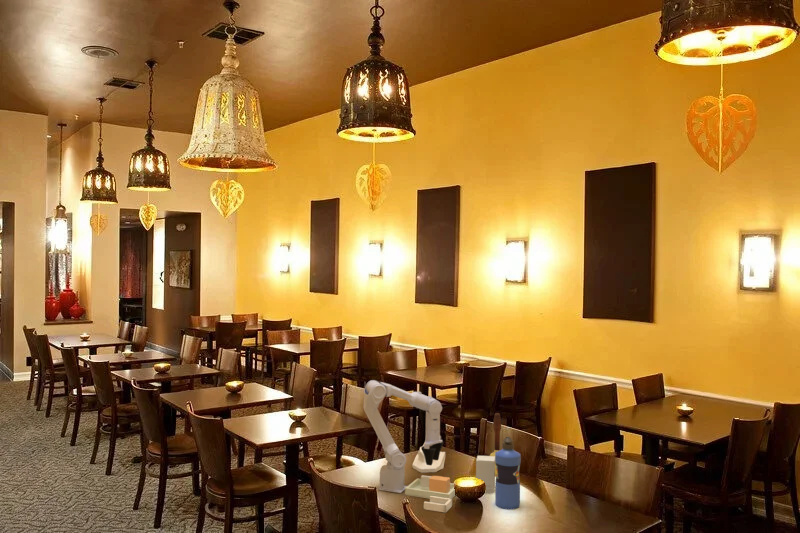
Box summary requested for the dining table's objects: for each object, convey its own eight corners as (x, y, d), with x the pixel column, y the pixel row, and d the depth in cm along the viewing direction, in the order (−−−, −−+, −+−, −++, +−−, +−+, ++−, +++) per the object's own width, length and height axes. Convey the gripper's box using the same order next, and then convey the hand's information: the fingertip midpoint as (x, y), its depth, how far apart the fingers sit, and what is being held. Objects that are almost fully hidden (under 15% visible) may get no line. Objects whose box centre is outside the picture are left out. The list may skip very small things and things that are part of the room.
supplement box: (494, 493, 257) (494, 461, 257) (475, 492, 258) (475, 460, 258) (495, 487, 264) (495, 456, 264) (476, 486, 265) (477, 454, 265)
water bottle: (522, 502, 247) (522, 435, 247) (518, 510, 238) (518, 441, 239) (497, 499, 250) (497, 433, 250) (492, 507, 242) (493, 439, 242)
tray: (404, 494, 254) (404, 488, 254) (417, 484, 266) (417, 478, 266) (449, 501, 247) (449, 494, 247) (459, 490, 259) (459, 484, 259)
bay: (423, 509, 239) (423, 502, 239) (430, 502, 246) (430, 495, 246) (445, 512, 236) (445, 505, 236) (452, 505, 243) (452, 499, 243)
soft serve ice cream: (448, 476, 283) (446, 446, 279) (413, 478, 283) (410, 449, 280) (445, 460, 295) (443, 432, 291) (412, 463, 295) (410, 434, 292)
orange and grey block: (419, 491, 257) (419, 477, 257) (423, 487, 261) (423, 474, 261) (446, 495, 252) (446, 481, 252) (449, 491, 257) (450, 477, 257)
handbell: (490, 465, 294) (491, 409, 294) (516, 470, 287) (516, 412, 287) (477, 471, 284) (477, 413, 284) (503, 477, 277) (503, 417, 277)
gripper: (436, 433, 257) (435, 468, 257) (447, 425, 271) (447, 458, 271) (419, 431, 260) (418, 466, 260) (431, 424, 273) (431, 456, 273)
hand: (432, 462), depth 265 cm, fingers open, 7 cm apart
